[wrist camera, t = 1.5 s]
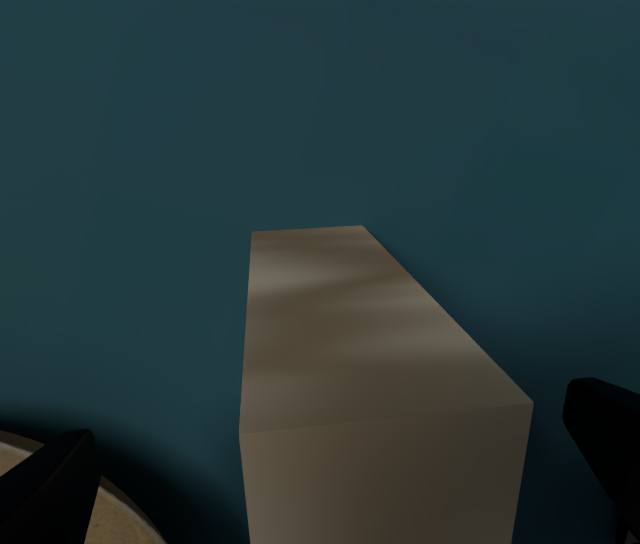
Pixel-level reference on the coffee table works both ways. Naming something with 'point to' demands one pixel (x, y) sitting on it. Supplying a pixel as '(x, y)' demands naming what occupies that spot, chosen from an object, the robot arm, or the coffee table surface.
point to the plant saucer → (110, 505)
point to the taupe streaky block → (369, 404)
